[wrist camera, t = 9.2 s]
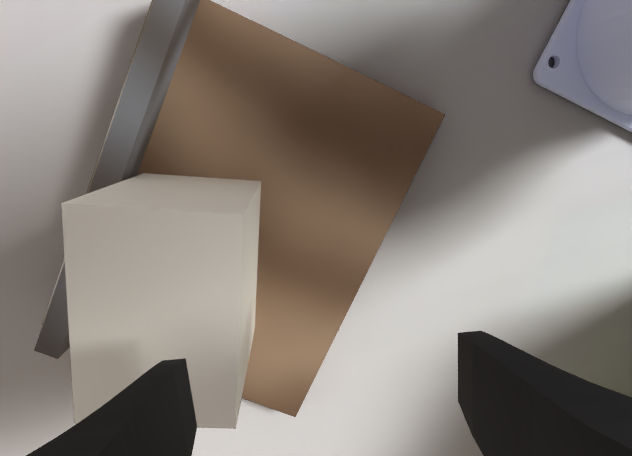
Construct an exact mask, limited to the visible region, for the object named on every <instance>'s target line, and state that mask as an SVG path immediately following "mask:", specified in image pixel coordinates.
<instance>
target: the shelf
mask: <svg viewBox="0 0 632 456" xmlns="http://www.w3.org/2000/svg"><path fill="white" fill-rule="evenodd" d="M444 116H445V114H443V113H441V112H439V111H437V110H435V109H433V108H431V107H429V106H427V105H425V104H423V103H421V102H419V101H416V100H414V99H412V98H410V97H408V96H406V95H404V94H402V93H400V92H398V91H396V90H394V89H392V88H390V87H388V86H386V85H383V84H381V83H379V82H377V81H375V80H373V79H371V78H369V77H367V76H365V75H363V74H361V73H359V72H357V71H355V70H353V69H350V68H348V67H346V66H344V65H342V64H340V63H338V62H336V61H334V60H332V59H330V58H328V57H326V56H324V55H322V54H320V53H317V52H315V51H313V50H311V49H309V48H307V47H305V46H303V45H301V44H299V43H297V42H295V41H293V40H291V39H289V38H287V37H284V36H282V35H280V34H278V33H276V32H274V31H272V30H270V29H268V28H266V27H264V26H262V25H260V24H258V23H256V22H254V21H252V20H249V19H247V18H245V17H243V16H241V15H239V14H237V13H235V12H233V11H231V10H229V9H227V8H225V7H223V6H221V5H219V4H216V3H214V2H212V1H210V0H152V2H151V5H150V8H149V11H148V14H147V17H146V20H145V23H144V25H143V28H142V31H141V34H140V37H139V40H138V43H137V46H136V49H135V52H134V55H133V58H132V61H131V64H130V67H129V69H128V72H127V75H126V78H125V81H124V84H123V87H122V90H121V93H120V96H119V99H118V102H117V105H116V108H115V111H114V114H113V116H112V119H111V122H110V125H109V128H108V131H107V134H106V137H105V140H104V143H103V146H102V149H101V152H100V155H99V158H98V160H97V163H96V166H95V169H94V172H93V175H92V178H91V181H90V184H89V187H88V190H87V193H86V194H88V193H91V192H93V191H96V190H99V189H102V188H105V187H107V186H110V185H113V184H116V183H118V182H121V181H124V180H127V179H129V178H132V177H135V176H138V175H141V174H143V173H146V174H162V175H177V176H192V177H207V178H222V179H237V180H253V181H261V198H260V220H259V242H258V265H257V287H256V310H255V330H254V335H253V340H252V346H251V351H250V356H249V361H248V367H247V372H246V377H245V382H244V388H243V393H242V398H244V399H246V400H249V401H252V402H255V403H258V404H260V405H263V406H266V407H269V408H271V409H274V410H277V411H280V412H283V413H285V414H288V415H291V416H294V417H296V415H297V413H298V411H299V409H300V407H301V405H302V403H303V401H304V399H305V397H306V394H307V392H308V390H309V388H310V386H311V384H312V382H313V380H314V378H315V376H316V374H317V372H318V370H319V368H320V366H321V364H322V362H323V360H324V358H325V356H326V354H327V352H328V350H329V348H330V346H331V344H332V342H333V340H334V338H335V336H336V334H337V332H338V330H339V328H340V326H341V324H342V322H343V320H344V318H345V316H346V314H347V312H348V310H349V308H350V306H351V304H352V302H353V300H354V298H355V296H356V294H357V292H358V289H359V287H360V285H361V283H362V281H363V279H364V277H365V275H366V273H367V271H368V269H369V267H370V265H371V263H372V261H373V259H374V257H375V255H376V253H377V251H378V249H379V247H380V245H381V243H382V241H383V239H384V237H385V235H386V233H387V231H388V229H389V227H390V225H391V223H392V221H393V219H394V217H395V215H396V213H397V211H398V209H399V207H400V205H401V203H402V201H403V199H404V197H405V195H406V193H407V191H408V189H409V186H410V184H411V182H412V180H413V178H414V176H415V174H416V172H417V170H418V168H419V166H420V164H421V162H422V160H423V158H424V156H425V154H426V152H427V150H428V148H429V146H430V144H431V142H432V140H433V138H434V136H435V134H436V132H437V130H438V128H439V126H440V124H441V122H442V120H443V118H444ZM42 325H43V327H42V329H41V332H40V335H39V338H38V341H37V344H36V347H35V350H34V351H37V352H40V353H43V354H46V355H48V356H51V357H54V358H57V359H58V358H59V357H60V356H61V355H62V354H63V353H64V352H65V351H66V350H67V349H68V348H69V347H70V341H69V325H68V308H67V291H66V275H65V258H64V260H63V263H62V266H61V269H60V272H59V275H58V278H57V281H56V284H55V287H54V290H53V293H52V296H51V298H50V301H49V304H48V307H47V310H46V313H45V316H44V319H43V322H42Z"/></svg>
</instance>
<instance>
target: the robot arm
mask: <svg viewBox="0 0 632 456" xmlns="http://www.w3.org/2000/svg"><path fill="white" fill-rule="evenodd" d="M550 57H553V58H554V60H555V64H554V66H553V68H551V67H549V65H548V60H549V58H550ZM533 79H534V81H535V82H536V83H537V84H538V85H540V86H542V87H544V88H546V89H548V90H550V91H552V92H554V93H556V94H558V95H560V96H562V97H564V98H565V99H567V100H569V101H571V102H573V103H575V104H577V105H579V106H581V107H583V108H585V109H587V110H589V111H591V112H593V113H595V114H597V115H599V116H601V117H603V118H605V119H606V120H608V121H610V122H612V123H614V124H616V125H618V126H620V127H622V128H624V129H626V130H628V131H630V132H632V0H570V2H569V4H568V6H567V8H566V10H565V11H564V13H563V15H562V17H561V19H560V21H559V23H558V25H557V27H556V29H555V30H554V32H553V34H552V36H551V38H550V40H549V42H548V44H547V46H546V48H545V49H544V51H543V53H542V55H541V57H540V59H539V61H538V63H537V65H536V67H535V69H534V71H533ZM458 402H459V404H460V407H461V409H462V412H463V414H464V417H465V419H466V422H467V424H468V426H469V429H470V431H471V433H472V436H473V437H474V439H475V441H476V443H477V445H478V446H479V448H480V450H481V452H482V454H483V455H484V456H632V397H629V396H626V395H623V394H620V393H618V392H615V391H612V390H609V389H607V388H604V387H601V386H599V385H596V384H593V383H591V382H588V381H586V380H584V379H581V378H579V377H577V376H575V375H572V374H570V373H568V372H565V371H563V370H561V369H559V368H557V367H555V366H552V365H550V364H548V363H546V362H544V361H542V360H540V359H538V358H536V357H534V356H532V355H530V354H528V353H526V352H524V351H522V350H520V349H518V348H516V347H514V346H512V345H510V344H508V343H506V342H504V341H502V340H500V339H498V338H496V337H494V336H492V335H490V334H488V333H485V332H483V331H474V332H463V333H458ZM196 429H197V422H196V416H195V410H194V404H193V399H192V393H191V387H190V381H189V375H188V369H187V363H186V358H184V359H173V360H162V361H161V362H159V363H158V364H156V365H155V366H153V367H152V368H151V369H149V370H148V371H147V372H145V373H144V374H143V375H142V376H140V377H139V378H138V379H136V380H135V381H134V382H133V383H131V384H130V385H129V386H127V387H126V388H125V389H124V390H122V391H121V392H120V393H118V394H117V395H116V396H115V397H113V398H112V399H111V400H109V401H108V402H107V403H105V404H104V405H103V406H101V407H100V408H98V409H97V410H96V411H94V412H93V413H91V414H90V415H89V416H87V417H86V418H84V419H83V420H82V421H80V422H79V423H77V424H76V425H75V426H73V427H72V428H70V429H69V430H67V431H66V432H64V433H63V434H61V435H59V436H58V437H56V438H55V439H53V440H51V441H50V442H48V443H47V444H45V445H43V446H42V447H40V448H38V449H37V450H35V451H33V452H32V453H30V454H28V455H26V456H191V455H192V450H193V445H194V440H195V434H196Z"/></svg>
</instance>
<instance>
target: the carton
mask: <svg viewBox="0 0 632 456" xmlns="http://www.w3.org/2000/svg"><path fill="white" fill-rule="evenodd" d="M260 198H261V181H253V180H237V179H222V178H207V177H192V176H177V175H162V174H146V173H143V174H141V175H138V176H135V177H132V178H129V179H127V180H124V181H121V182H118V183H116V184H113V185H110V186H107V187H105V188H102V189H99V190H96V191H93V192H91V193H88V194H85V195H82V196H80V197H77V198H74V199H71V200H69V201H66V202H63V203H61V208H62V225H63V241H64V258H65V275H66V291H67V308H68V325H69V341H70V358H71V375H72V391H73V408H74V423H79V422H80V421H82V420H83V419H84V418H86V417H87V416H89V415H90V414H91V413H93V412H94V411H96V410H97V409H98V408H100V407H101V406H103V405H104V404H105V403H107V402H108V401H109V400H111V399H112V398H113V397H115V396H116V395H117V394H118V393H120V392H121V391H122V390H124V389H125V388H126V387H127V386H129V385H130V384H131V383H133V382H134V381H135V380H136V379H138V378H139V377H140V376H142V375H143V374H144V373H145V372H147V371H148V370H149V369H151V368H152V367H153V366H155V365H156V364H158V363H159V362H161V361H162V360H173V359H184V358H186V363H187V369H188V375H189V381H190V387H191V393H192V399H193V404H194V410H195V416H196V422H197V427H202V428H233V429H236V424H237V419H238V414H239V409H240V403H241V398H242V393H243V388H244V382H245V377H246V372H247V367H248V361H249V356H250V351H251V346H252V340H253V335H254V330H255V310H256V287H257V265H258V242H259V220H260Z"/></svg>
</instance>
